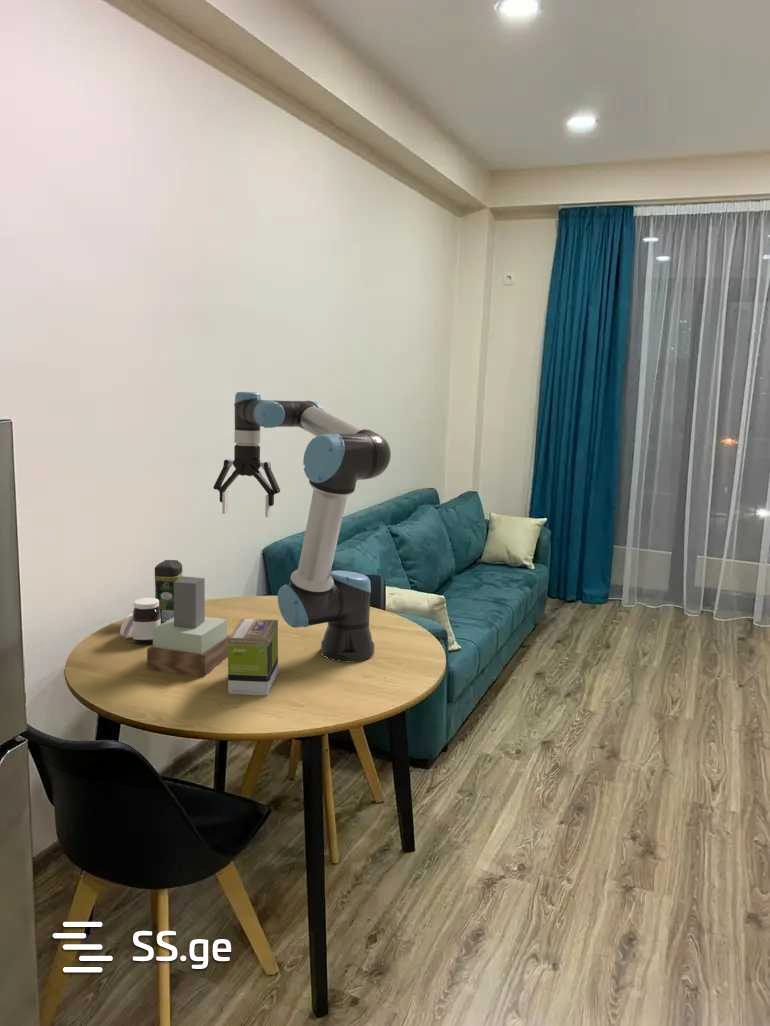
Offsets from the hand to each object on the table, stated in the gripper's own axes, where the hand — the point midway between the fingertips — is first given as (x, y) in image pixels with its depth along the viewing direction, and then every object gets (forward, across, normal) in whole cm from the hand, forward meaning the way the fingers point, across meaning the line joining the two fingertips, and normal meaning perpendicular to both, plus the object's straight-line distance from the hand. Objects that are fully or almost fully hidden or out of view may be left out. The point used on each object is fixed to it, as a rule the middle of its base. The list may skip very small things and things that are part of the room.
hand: (246, 514), depth 228 cm
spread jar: (+35, +24, +21) cm, 47 cm away
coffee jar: (+35, +24, +2) cm, 43 cm away
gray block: (+24, +3, +33) cm, 41 cm away
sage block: (+29, +2, +33) cm, 44 cm away
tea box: (+35, -19, +42) cm, 58 cm away
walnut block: (+35, +3, +33) cm, 49 cm away
